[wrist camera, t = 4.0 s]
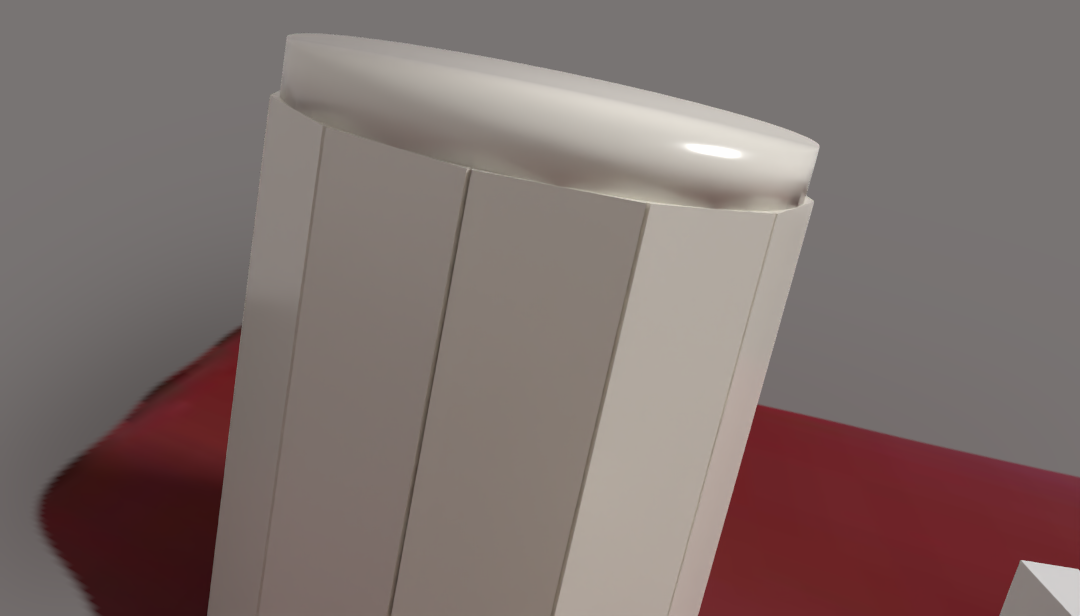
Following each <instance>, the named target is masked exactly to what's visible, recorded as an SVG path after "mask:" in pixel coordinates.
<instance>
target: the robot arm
mask: <svg viewBox="0 0 1080 616" xmlns="http://www.w3.org/2000/svg"><path fill="white" fill-rule="evenodd" d="M1000 616H1080V571H1079V570H1078V569H1073V568H1067V567H1061V566H1054V565H1048V564H1042V563H1036V562H1030V561H1023V560H1020V563H1019V565H1018V568H1017V571H1016V573H1015V576H1014V579H1013V581H1012V584H1011V587H1010V589H1009V592H1008V594H1007V597H1006V600H1005V602H1004V605H1003V608H1002V610H1001V613H1000Z"/></svg>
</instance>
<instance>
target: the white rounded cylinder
mask: <svg viewBox="0 0 1080 616" xmlns="http://www.w3.org/2000/svg"><path fill="white" fill-rule="evenodd" d="M819 147H820V146H819V145H818V144H817V143H816V142H814V141H813V140H811V139H809V138H807V137H805V136H802V135H800V134H798V133H795V132H793V131H790V130H787V129H784V128H781V127H779V126H775V125H772V124H769V123H766V122H763V121H760V120H756V119H753V118H750V117H746V116H743V115H740V114H736V113H732V112H729V111H725V110H721V109H718V108H714V107H710V106H707V105H703V104H698V103H695V102H691V101H687V100H683V99H679V98H675V97H671V96H667V95H663V94H659V93H655V92H650V91H646V90H642V89H638V88H634V87H629V86H625V85H621V84H616V83H612V82H607V81H602V80H598V79H593V78H589V77H584V76H580V75H575V74H570V73H565V72H560V71H555V70H551V69H546V68H541V67H536V66H530V65H525V64H521V63H515V62H510V61H505V60H500V59H494V58H489V57H483V56H478V55H472V54H467V53H461V52H455V51H449V50H444V49H437V48H431V47H425V46H418V45H412V44H406V43H399V42H391V41H385V40H376V39H370V38H361V37H352V36H343V35H331V34H315V33H299V34H291V35H289V36H287V41H286V49H285V57H284V65H283V73H282V81H281V89H280V91H278V92H276V93H273V94H271V95H270V99H269V108H268V116H267V124H266V132H265V141H264V150H263V157H262V166H261V174H260V182H259V191H258V200H257V207H256V215H255V224H254V232H253V241H252V248H251V256H250V265H249V273H248V281H247V290H246V298H245V306H244V314H243V323H242V331H241V339H240V347H239V356H238V364H237V372H236V380H235V389H234V397H233V405H232V414H231V422H230V430H229V438H228V447H227V455H226V463H225V471H224V480H223V488H222V496H221V504H220V513H219V521H218V529H217V538H216V546H215V554H214V562H213V571H212V579H211V587H210V595H209V604H208V612H207V616H698V613H699V609H700V606H701V602H702V599H703V595H704V592H705V588H706V585H707V581H708V577H709V574H710V570H711V567H712V563H713V560H714V556H715V552H716V549H717V545H718V542H719V538H720V535H721V531H722V528H723V524H724V520H725V517H726V513H727V510H728V506H729V503H730V499H731V496H732V492H733V488H734V485H735V481H736V478H737V474H738V471H739V467H740V463H741V460H742V456H743V453H744V449H745V446H746V442H747V439H748V435H749V431H750V428H751V424H752V421H753V417H754V414H755V410H756V407H757V403H758V399H759V396H760V392H761V389H762V385H763V382H764V378H765V374H766V371H767V367H768V364H769V360H770V356H771V353H772V350H773V345H774V342H775V339H776V335H777V332H778V328H779V324H780V321H781V317H782V314H783V310H784V307H785V303H786V299H787V296H788V293H789V289H790V286H791V282H792V278H793V275H794V271H795V267H796V264H797V261H798V257H799V253H800V250H801V246H802V243H803V239H804V236H805V232H806V228H807V225H808V221H809V218H810V214H811V211H812V207H813V203H814V201H813V200H812V199H810V198H809V197H807V196H806V194H807V190H808V187H809V183H810V179H811V176H812V172H813V168H814V165H815V162H816V158H817V154H818V151H819Z"/></svg>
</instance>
